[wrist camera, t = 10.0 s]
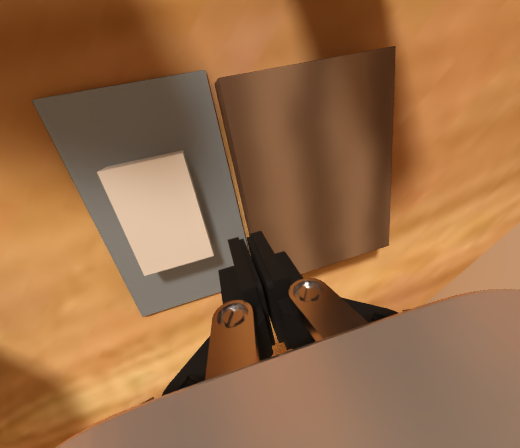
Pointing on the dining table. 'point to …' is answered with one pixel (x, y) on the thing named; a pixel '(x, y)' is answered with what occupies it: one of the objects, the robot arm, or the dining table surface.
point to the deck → (314, 154)
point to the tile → (158, 211)
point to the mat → (144, 146)
